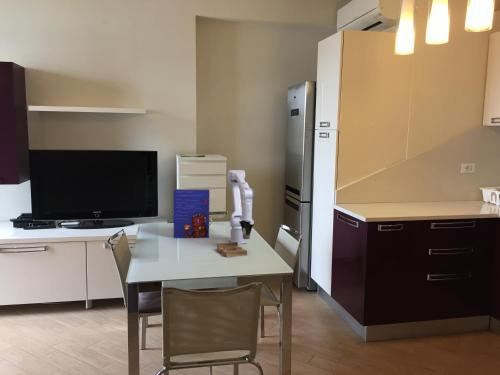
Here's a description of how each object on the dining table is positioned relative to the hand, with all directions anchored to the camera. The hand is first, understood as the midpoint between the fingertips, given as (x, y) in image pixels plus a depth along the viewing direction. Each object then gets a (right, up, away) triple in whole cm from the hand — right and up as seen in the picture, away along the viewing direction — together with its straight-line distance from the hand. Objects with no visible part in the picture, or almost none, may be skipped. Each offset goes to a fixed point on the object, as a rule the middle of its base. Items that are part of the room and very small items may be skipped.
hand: (246, 234), depth 248 cm
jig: (-8, -10, -6) cm, 14 cm away
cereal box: (-35, -5, +28) cm, 45 cm away
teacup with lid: (-29, -2, +49) cm, 57 cm away
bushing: (0, -2, 0) cm, 2 cm away
